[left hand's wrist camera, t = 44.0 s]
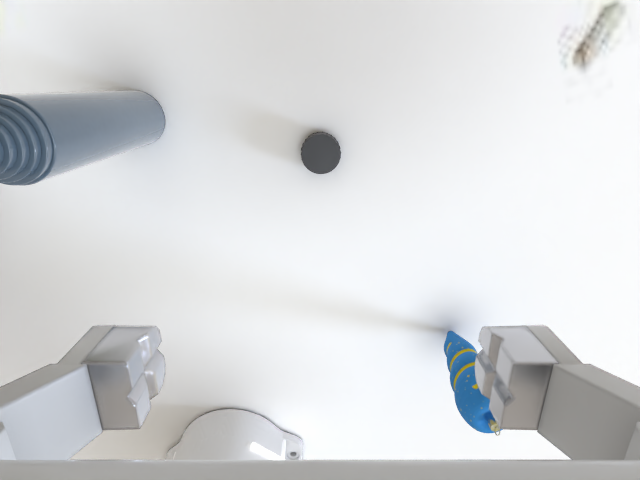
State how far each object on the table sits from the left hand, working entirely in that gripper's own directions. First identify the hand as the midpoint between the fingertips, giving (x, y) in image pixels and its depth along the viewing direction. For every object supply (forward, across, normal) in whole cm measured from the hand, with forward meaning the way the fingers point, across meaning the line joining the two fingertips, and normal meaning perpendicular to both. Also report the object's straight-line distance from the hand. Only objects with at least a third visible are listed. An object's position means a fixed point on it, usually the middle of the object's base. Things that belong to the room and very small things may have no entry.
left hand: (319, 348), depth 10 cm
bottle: (+34, +18, -3) cm, 38 cm away
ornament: (+34, -16, +22) cm, 43 cm away
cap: (+32, 0, 0) cm, 32 cm away
